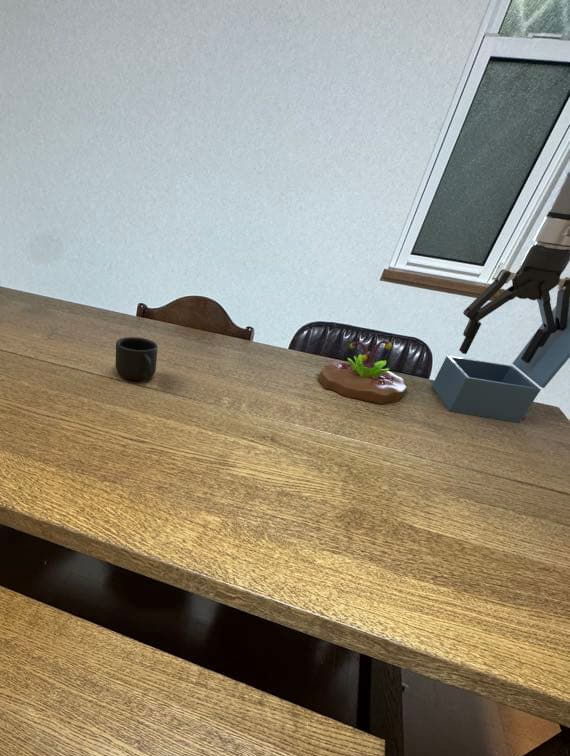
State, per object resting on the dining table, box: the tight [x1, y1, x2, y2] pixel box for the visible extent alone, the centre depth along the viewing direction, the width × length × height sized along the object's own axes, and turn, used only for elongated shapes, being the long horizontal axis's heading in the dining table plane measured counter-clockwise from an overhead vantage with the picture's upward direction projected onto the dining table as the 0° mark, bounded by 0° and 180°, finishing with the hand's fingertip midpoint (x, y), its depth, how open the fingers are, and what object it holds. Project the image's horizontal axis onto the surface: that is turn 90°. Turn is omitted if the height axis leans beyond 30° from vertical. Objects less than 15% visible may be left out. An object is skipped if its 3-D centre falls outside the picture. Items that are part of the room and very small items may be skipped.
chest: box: [431, 355, 542, 423], centre depth 107 cm, size 16×16×8 cm
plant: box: [318, 339, 408, 405], centre depth 107 cm, size 20×20×11 cm
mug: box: [114, 336, 159, 382], centre depth 98 cm, size 12×9×7 cm
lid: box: [511, 301, 570, 389], centre depth 98 cm, size 16×16×5 cm
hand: (493, 356), depth 102 cm, fingers open, 13 cm apart
